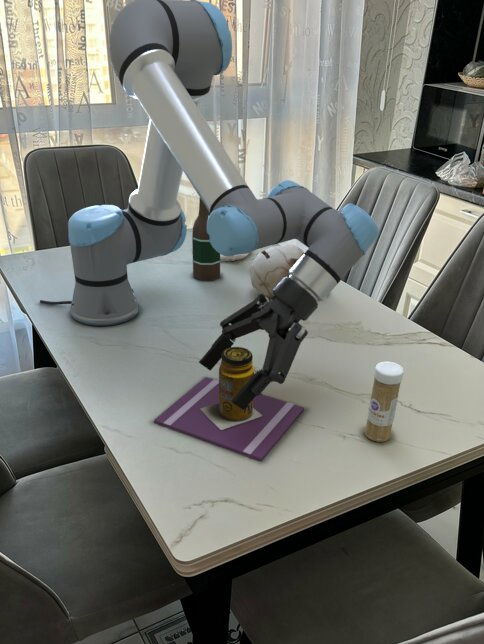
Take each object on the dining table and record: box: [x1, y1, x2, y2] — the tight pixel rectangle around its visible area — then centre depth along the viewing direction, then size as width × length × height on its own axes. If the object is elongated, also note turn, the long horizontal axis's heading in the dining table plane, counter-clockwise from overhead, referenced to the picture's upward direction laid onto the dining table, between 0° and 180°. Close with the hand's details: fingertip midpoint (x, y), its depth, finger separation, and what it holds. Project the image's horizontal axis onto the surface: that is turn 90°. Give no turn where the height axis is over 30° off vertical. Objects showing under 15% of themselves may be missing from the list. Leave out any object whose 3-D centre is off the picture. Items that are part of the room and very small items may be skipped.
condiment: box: [201, 346, 262, 430], centre depth 103 cm, size 7×8×12 cm
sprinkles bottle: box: [364, 360, 405, 443], centre depth 100 cm, size 5×5×13 cm
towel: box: [153, 376, 305, 462], centre depth 107 cm, size 21×17×1 cm
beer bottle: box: [191, 197, 221, 282], centre depth 155 cm, size 8×8×24 cm
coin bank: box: [250, 243, 305, 300], centre depth 150 cm, size 16×17×13 cm
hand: (219, 385), depth 102 cm, fingers open, 13 cm apart
